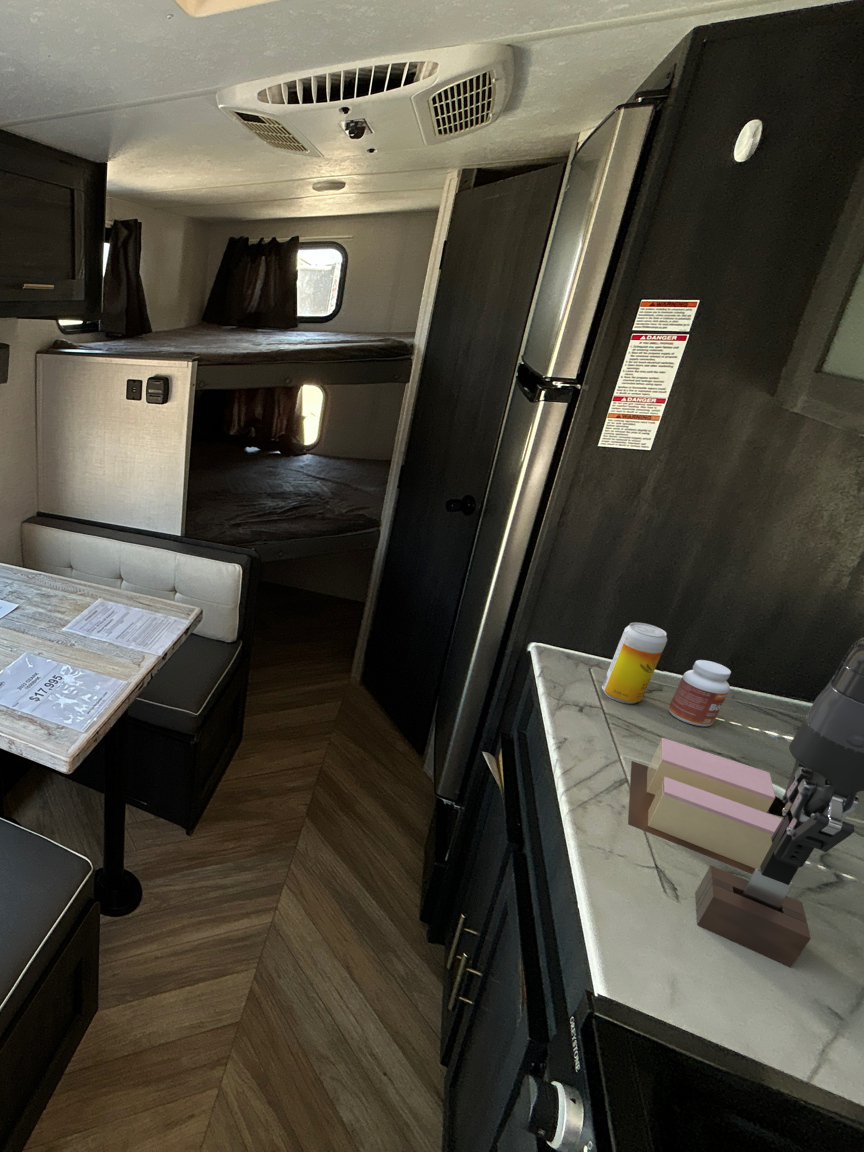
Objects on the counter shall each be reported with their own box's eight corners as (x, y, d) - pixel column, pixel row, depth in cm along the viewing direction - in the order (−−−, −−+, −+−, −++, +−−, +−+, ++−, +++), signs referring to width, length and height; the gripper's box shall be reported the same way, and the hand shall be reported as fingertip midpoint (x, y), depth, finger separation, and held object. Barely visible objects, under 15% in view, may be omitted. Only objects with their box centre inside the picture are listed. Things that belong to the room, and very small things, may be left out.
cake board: (765, 813, 95) (768, 808, 95) (782, 892, 83) (785, 887, 82) (629, 765, 105) (631, 760, 105) (625, 829, 93) (627, 824, 92)
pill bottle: (708, 732, 113) (733, 680, 109) (663, 715, 117) (686, 664, 113) (715, 719, 116) (740, 668, 112) (671, 703, 121) (694, 653, 117)
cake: (751, 806, 95) (769, 772, 93) (755, 832, 91) (775, 797, 88) (647, 769, 103) (662, 737, 100) (646, 792, 98) (662, 758, 96)
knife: (761, 932, 77) (821, 825, 70) (763, 942, 75) (823, 834, 69) (727, 918, 78) (782, 812, 72) (728, 927, 77) (784, 821, 71)
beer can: (644, 709, 119) (673, 640, 113) (603, 699, 122) (630, 632, 116) (636, 692, 124) (664, 626, 118) (597, 683, 127) (623, 618, 121)
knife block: (780, 936, 77) (802, 902, 75) (787, 973, 73) (811, 938, 71) (692, 898, 82) (710, 864, 80) (693, 930, 78) (713, 896, 76)
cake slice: (761, 854, 87) (782, 818, 85) (764, 872, 85) (786, 836, 82) (648, 810, 95) (664, 776, 92) (647, 826, 92) (664, 791, 89)
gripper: (936, 786, 59) (846, 915, 65) (897, 716, 68) (822, 835, 75) (818, 750, 63) (744, 874, 70) (797, 689, 73) (734, 803, 79)
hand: (785, 853), depth 72 cm, fingers closed
